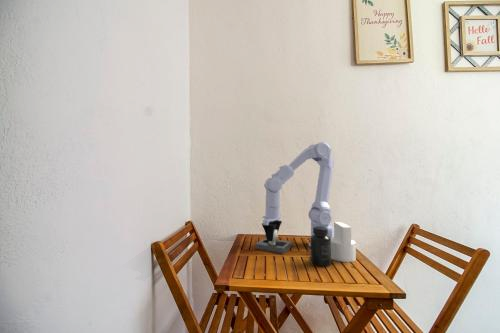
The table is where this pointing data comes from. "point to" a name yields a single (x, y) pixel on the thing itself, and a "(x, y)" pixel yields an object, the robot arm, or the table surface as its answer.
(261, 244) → the keyhole plate
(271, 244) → the light bulb
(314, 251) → the supplement bottle
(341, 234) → the cylinder with rectangular tab
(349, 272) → the table surface
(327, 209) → the robot arm
